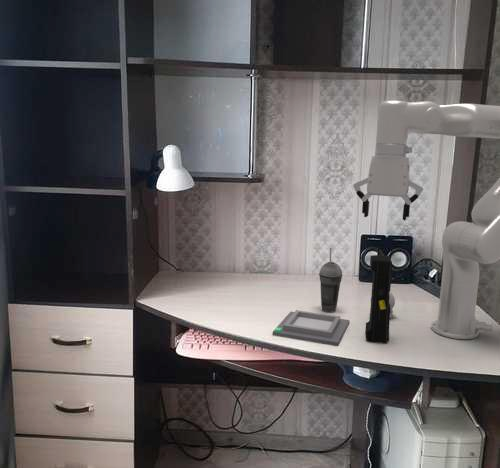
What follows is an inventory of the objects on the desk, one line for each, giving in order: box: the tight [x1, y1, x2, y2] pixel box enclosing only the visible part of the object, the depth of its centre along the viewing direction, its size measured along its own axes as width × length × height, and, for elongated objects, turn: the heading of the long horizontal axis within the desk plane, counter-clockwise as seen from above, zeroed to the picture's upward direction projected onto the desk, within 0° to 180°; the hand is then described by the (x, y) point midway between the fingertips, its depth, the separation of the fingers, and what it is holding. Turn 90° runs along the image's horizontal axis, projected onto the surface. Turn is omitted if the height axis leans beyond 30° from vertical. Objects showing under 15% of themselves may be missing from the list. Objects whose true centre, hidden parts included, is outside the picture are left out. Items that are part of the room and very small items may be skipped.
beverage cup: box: [318, 247, 343, 314], centre depth 155 cm, size 7×7×20 cm
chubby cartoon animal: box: [389, 291, 396, 319], centre depth 150 cm, size 7×12×8 cm, turn 154°
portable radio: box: [364, 247, 393, 345], centre depth 132 cm, size 8×6×25 cm
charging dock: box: [272, 309, 350, 347], centre depth 140 cm, size 18×18×2 cm
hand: (384, 218), depth 128 cm, fingers open, 9 cm apart
